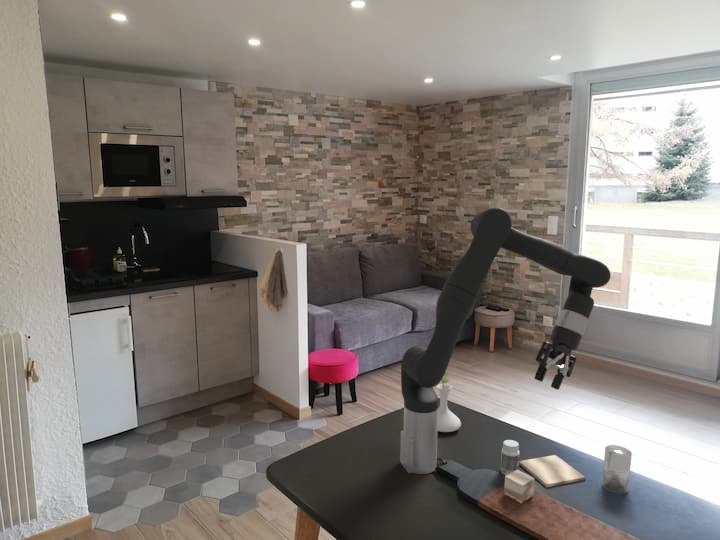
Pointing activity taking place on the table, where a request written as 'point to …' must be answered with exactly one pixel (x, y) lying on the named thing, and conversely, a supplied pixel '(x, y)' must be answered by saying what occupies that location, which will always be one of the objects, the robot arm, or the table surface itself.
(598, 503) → the table surface
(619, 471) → the tin can
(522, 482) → the ash block
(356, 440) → the table surface
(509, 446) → the pill bottle
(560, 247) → the robot arm
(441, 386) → the flower in vase
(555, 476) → the oak mat
